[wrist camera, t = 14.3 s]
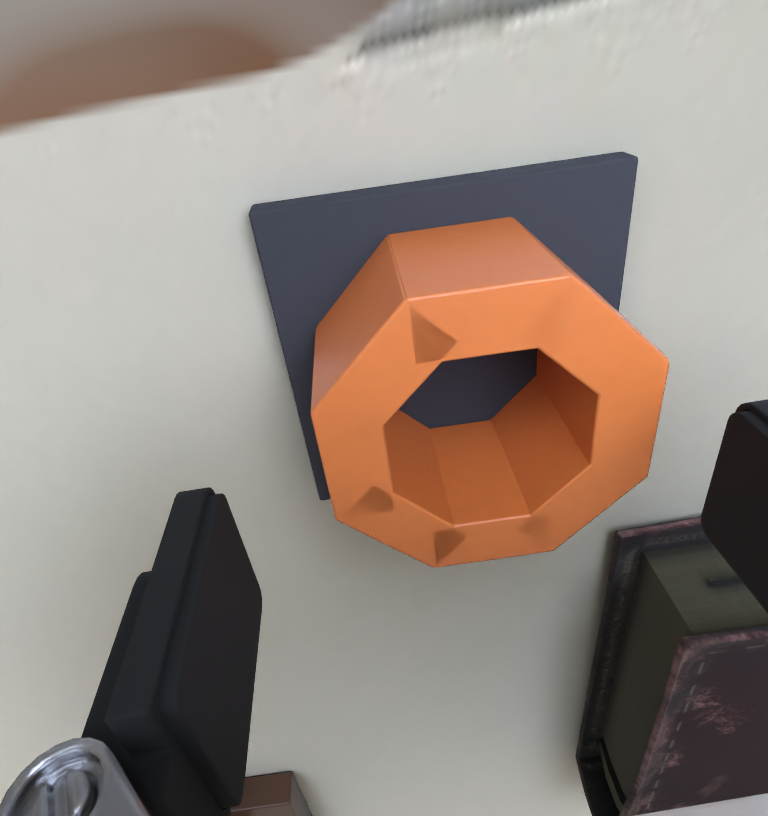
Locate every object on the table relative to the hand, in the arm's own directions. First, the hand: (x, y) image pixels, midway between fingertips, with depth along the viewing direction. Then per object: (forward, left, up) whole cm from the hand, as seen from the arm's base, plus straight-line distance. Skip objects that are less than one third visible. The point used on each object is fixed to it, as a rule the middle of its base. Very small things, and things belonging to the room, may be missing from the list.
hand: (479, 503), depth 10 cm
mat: (+1, 0, -6) cm, 6 cm away
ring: (+1, 0, -6) cm, 6 cm away
